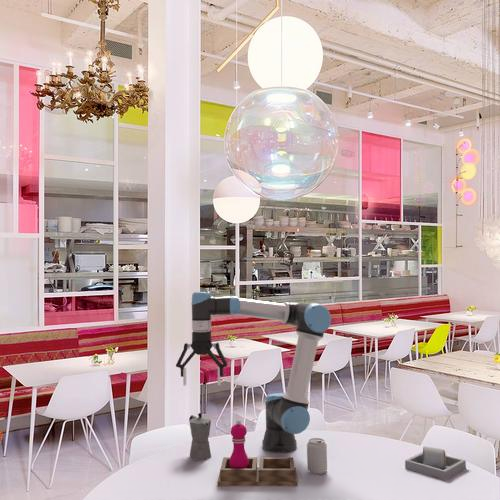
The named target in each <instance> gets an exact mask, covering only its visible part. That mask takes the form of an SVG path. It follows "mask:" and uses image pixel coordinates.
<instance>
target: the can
mask: <svg viewBox="0 0 500 500" xmlns="http://www.w3.org/2000/svg"><path fill="white" fill-rule="evenodd" d="M325 440H326V439H324V438H320V437H313V438H310V439H309V438H308V442H307V443H306V456H307V457H306V460H307V461H306V462H307V465H306V466H307V468H306V469H307V471H309V473H310V474H313V475H322V474H325V473H326V472H327V470H328V457H327V456H328V451H327V449H328V448H327V447H328V445H327V443H326V441H325Z"/></svg>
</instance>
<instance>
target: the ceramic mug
mask: <svg viewBox="0 0 500 500" xmlns="http://www.w3.org/2000/svg"><path fill="white" fill-rule="evenodd" d="M422 449H423V450H422V452H423V463H422V464H424V465H428V466H431V467H435V468H438V469H446V465H447V464H446V451H445V449H441V448H438V447H431V446H423V448H422Z"/></svg>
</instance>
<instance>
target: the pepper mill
mask: <svg viewBox="0 0 500 500" xmlns="http://www.w3.org/2000/svg"><path fill="white" fill-rule="evenodd" d="M235 423H236V424H234V425H232V426H231V428H230V435H231V437H232V438H231V439H232V443H233V449H232V453H231V455H230V456H229V457H230V462H229V464H230V466H231V467H232V468H235V469H247V468H246V467H247V466H248V464H249V460H248V457H249V456H248V454H247V452H246V450H245V443H246V435H247V428H246V426H245V425H243V424H242V421H241V420H239V419H238V420H236V422H235Z"/></svg>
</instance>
